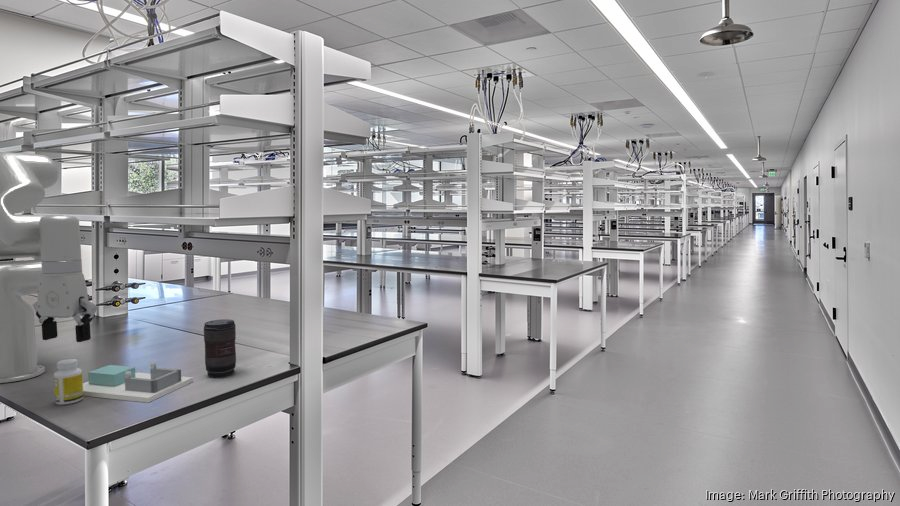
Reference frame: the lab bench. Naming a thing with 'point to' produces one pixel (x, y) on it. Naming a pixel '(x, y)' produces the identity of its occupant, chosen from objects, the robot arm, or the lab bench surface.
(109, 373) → the block
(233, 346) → the camera lens
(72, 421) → the lab bench surface
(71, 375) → the supplement bottle
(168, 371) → the board
